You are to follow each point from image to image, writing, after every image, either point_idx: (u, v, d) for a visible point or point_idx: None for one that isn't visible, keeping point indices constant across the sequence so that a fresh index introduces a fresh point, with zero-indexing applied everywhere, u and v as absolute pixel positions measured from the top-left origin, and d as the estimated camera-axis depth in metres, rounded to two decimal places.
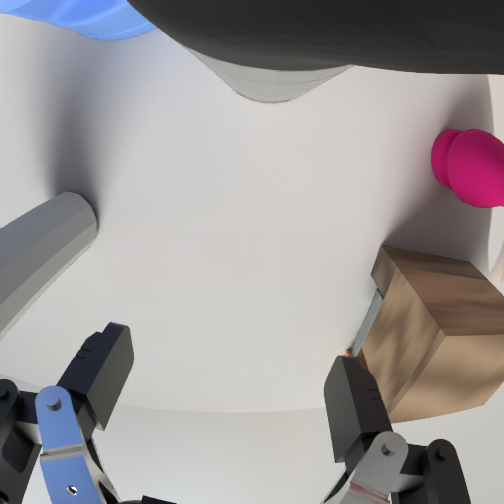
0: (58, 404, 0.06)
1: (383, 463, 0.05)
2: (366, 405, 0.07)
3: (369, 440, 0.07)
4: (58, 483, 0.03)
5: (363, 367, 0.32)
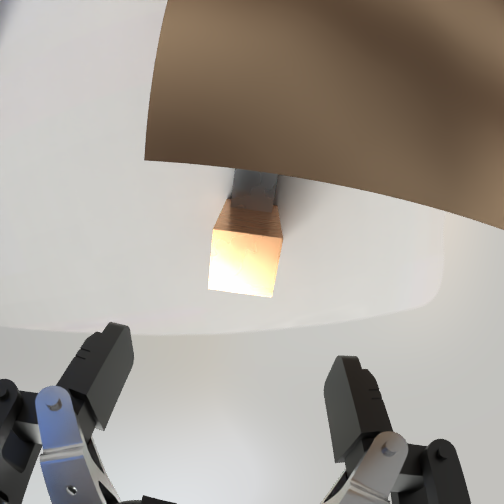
0: (58, 404, 0.06)
1: (383, 463, 0.05)
2: (366, 405, 0.07)
3: (369, 440, 0.07)
4: (58, 483, 0.03)
5: (247, 212, 0.20)
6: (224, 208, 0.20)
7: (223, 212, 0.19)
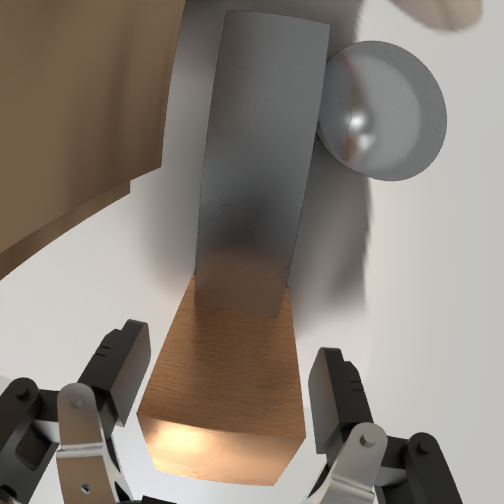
0: (81, 402, 0.06)
1: (363, 455, 0.06)
2: (346, 396, 0.08)
3: (348, 431, 0.07)
4: (73, 480, 0.04)
5: (226, 325, 0.09)
6: (180, 312, 0.09)
7: (174, 330, 0.09)
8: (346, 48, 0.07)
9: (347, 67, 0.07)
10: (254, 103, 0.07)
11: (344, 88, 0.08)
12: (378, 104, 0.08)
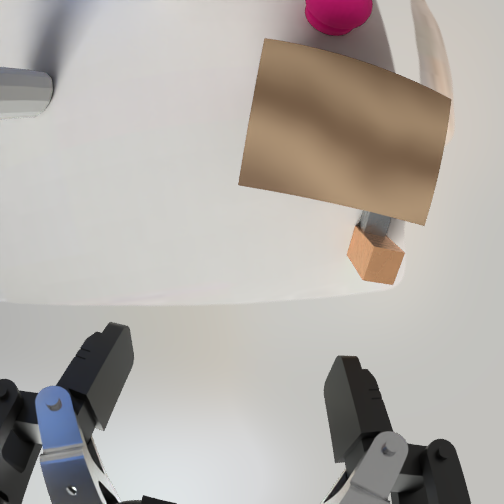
0: (58, 405, 0.06)
1: (383, 463, 0.05)
2: (366, 405, 0.07)
3: (369, 440, 0.07)
4: (58, 483, 0.03)
5: (375, 236, 0.32)
6: (362, 233, 0.32)
7: (365, 236, 0.31)
8: None
9: None
10: None
11: None
12: None
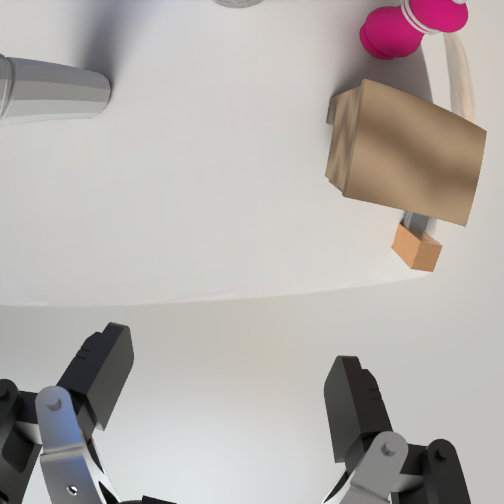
0: (58, 405, 0.06)
1: (383, 463, 0.05)
2: (366, 405, 0.07)
3: (369, 440, 0.07)
4: (58, 483, 0.03)
5: (417, 232, 0.36)
6: (407, 229, 0.36)
7: (410, 232, 0.35)
8: None
9: None
10: None
11: None
12: None
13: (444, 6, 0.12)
